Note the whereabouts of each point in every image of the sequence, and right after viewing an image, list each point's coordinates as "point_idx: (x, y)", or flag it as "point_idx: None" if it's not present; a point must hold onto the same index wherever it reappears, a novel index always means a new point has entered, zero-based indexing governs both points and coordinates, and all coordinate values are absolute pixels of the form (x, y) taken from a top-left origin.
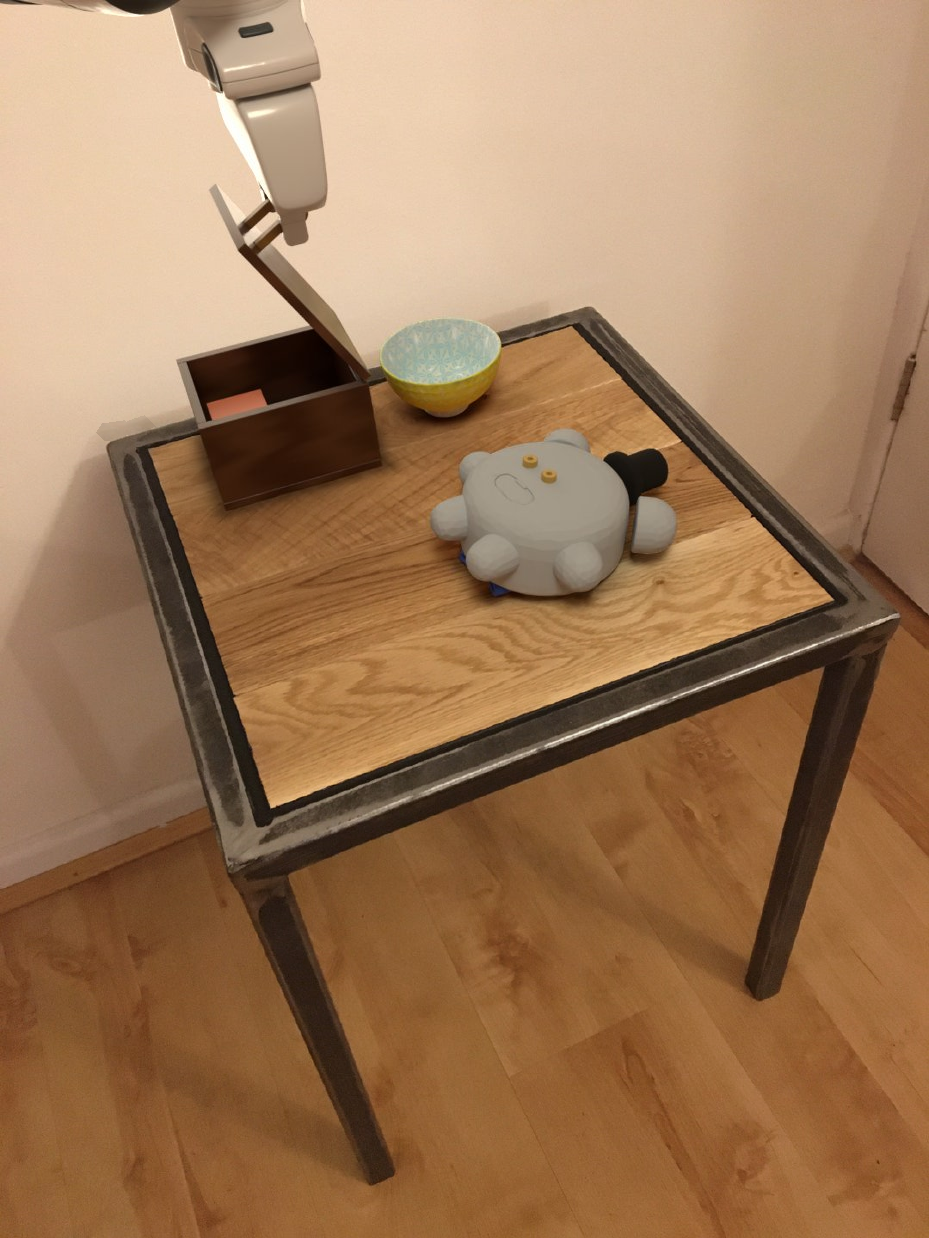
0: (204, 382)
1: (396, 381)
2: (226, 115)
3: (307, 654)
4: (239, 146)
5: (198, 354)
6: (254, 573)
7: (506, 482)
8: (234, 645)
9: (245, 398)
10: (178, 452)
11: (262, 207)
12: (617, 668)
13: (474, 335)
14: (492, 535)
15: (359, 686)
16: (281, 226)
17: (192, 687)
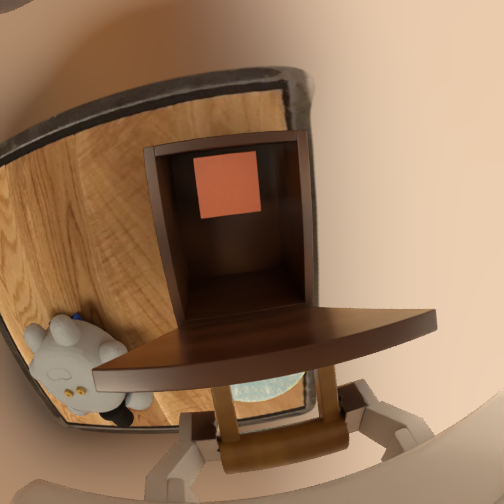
0: (289, 154)
1: None
2: (490, 447)
3: (21, 209)
4: (392, 477)
5: (306, 157)
6: (86, 173)
7: (62, 374)
8: (33, 161)
9: (248, 193)
10: (266, 113)
11: (321, 398)
12: (22, 350)
13: (280, 383)
14: (36, 348)
15: (4, 237)
16: (187, 436)
17: (14, 138)
